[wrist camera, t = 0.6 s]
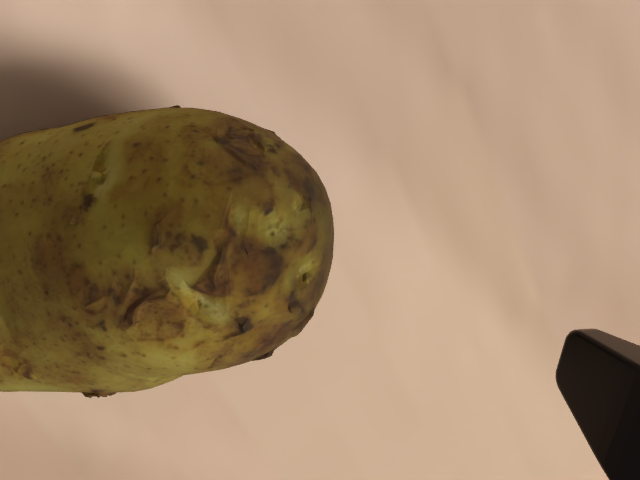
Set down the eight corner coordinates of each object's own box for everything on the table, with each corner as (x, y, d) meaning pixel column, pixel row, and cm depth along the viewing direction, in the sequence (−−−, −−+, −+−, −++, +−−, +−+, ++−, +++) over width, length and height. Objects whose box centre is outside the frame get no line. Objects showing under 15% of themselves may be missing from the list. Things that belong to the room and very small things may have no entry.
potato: (-161, 74, 17) (-385, 160, 10) (293, 80, 20) (373, 147, 13) (-93, 329, 20) (-220, 529, 13) (285, 297, 23) (345, 444, 16)
